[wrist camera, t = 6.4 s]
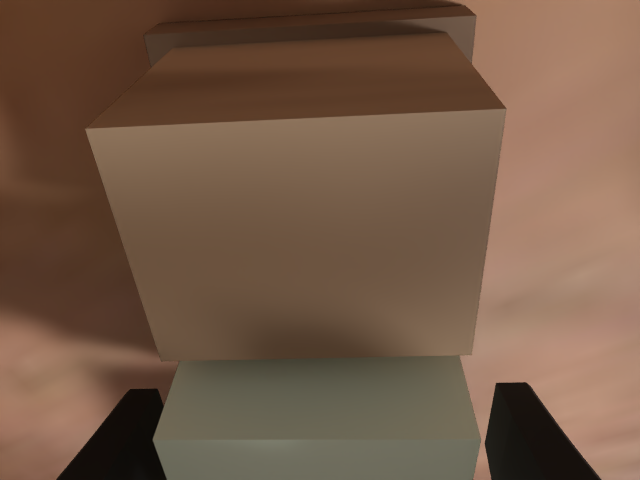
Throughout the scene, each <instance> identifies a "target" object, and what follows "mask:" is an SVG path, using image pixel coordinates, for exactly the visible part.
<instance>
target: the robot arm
mask: <svg viewBox="0 0 640 480" xmlns="http://www.w3.org/2000/svg"><path fill="white" fill-rule="evenodd" d="M163 408H164V406H163V403H162V400H161V397H160V394H159V391H158V389H130V390H129V391H128V392H127V393H126V394H125V395H124V397H123V398H122V399H121V400H120V402H119V403H118V404H117V405H116V407H115V408H114V409H113V411H112V412H111V413H110V414H109V416H108V417H107V418H106V419H105V421H104V422H103V423H102V424H101V426H100V427H99V428H98V429H97V431H96V432H95V433H94V434H93V436H92V437H91V438H90V439H89V441H88V442H87V443H86V444H85V446H84V447H83V448H82V449H81V451H80V452H79V453H78V454H77V455H76V456H75V458H74V459H73V460H72V461H71V462H70V464H69V465H68V466H67V467H66V468H65V470H64V471H63V472H62V473H61V474H60V476H59V477H58V478H57V479H56V480H167V478H166V476H165V473H164V470H163V467H162V465H161V462H160V459H159V456H158V453H157V451H156V448H155V445H154V442H153V437H154V434H155V432H156V429H157V426H158V423H159V420H160V417H161V414H162V411H163ZM485 447H486V453H487V458H488V463H489V469H490V474H491V479H492V480H601V479H600V477H599V476H598V475H597V474H596V472H595V471H594V470H593V469H592V468H591V466H590V465H589V464H588V463H587V461H586V460H585V459H584V458H583V456H582V455H581V454H580V453H579V451H578V450H577V449H576V448H575V446H574V445H573V444H572V442H571V441H570V440H569V438H568V437H567V436H566V434H565V433H564V432H563V431H562V429H561V428H560V427H559V425H558V424H557V423H556V421H555V420H554V418H553V417H552V416H551V414H550V413H549V412H548V410H547V409H546V408H545V406H544V405H543V403H542V402H541V401H540V399H539V398H538V396H537V395H536V393H535V392H534V391H533V389H532V388H531V386H530V385H528V384H527V383H526V382H522V383H496V387H495V392H494V397H493V403H492V408H491V413H490V419H489V424H488V430H487V435H486V440H485Z"/></svg>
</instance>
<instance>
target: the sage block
mask: <svg viewBox="0 0 640 480" xmlns="http://www.w3.org/2000/svg"><path fill="white" fill-rule="evenodd" d="M153 442H154V445H155V448H156V451H157V453H158V456H159V459H160V462H161V465H162V467H163V470H164V473H165V476H166V478H167V480H473V477H474V472H475V467H476V462H477V457H478V452H479V448H480V443H481V437H480V433H479V429H478V425H477V422H476V418H475V414H474V410H473V406H472V402H471V399H470V395H469V391H468V387H467V383H466V379H465V376H464V372H463V368H462V364H461V360H460V356H459V355H455V356H405V357H355V358H306V359H256V360H206V361H179V364H178V367H177V370H176V373H175V376H174V379H173V382H172V385H171V388H170V391H169V394H168V396H167V399H166V402H165V405H164V408H163V411H162V414H161V417H160V420H159V423H158V426H157V429H156V432H155V434H154V437H153Z"/></svg>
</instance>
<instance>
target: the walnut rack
mask: <svg viewBox="0 0 640 480" xmlns="http://www.w3.org/2000/svg"><path fill="white" fill-rule="evenodd" d="M475 25H476V15H475V14H474V13H473V12H472V11H471V10H470V9H468V8H467V7H466V6H465V5H464V6H447V7H431V8H414V9H397V10H380V11H363V12H346V13H330V14H313V15H296V16H279V17H262V18H245V19H229V20H212V21H195V22H178V23H161V24H158V25H156V26H155V27H154V28H152V29H151V30H150V31H148V32H147V33H145V34H144V35H143V36H144V40H145V44H146V48H147V53H148V57H149V61H150V65H151V68H150V69H149V70H148V71H147V72H146V73H145V74H144V75H143V76H142V77H141V78H140V79H138V80H137V81H136V82H135V83H134V84H133V85H132V86H131V87H130V88H129V89H128V90H127V91H125V92H124V93H123V94H122V95H121V96H120V97H119V98H118V99H117V100H116V101H115V102H114V103H112V104H111V105H110V106H109V107H108V108H107V109H106V110H105V111H104V112H103V113H102V114H101V115H99V116H98V117H97V118H96V119H95V120H94V121H93V122H92V123H91V124H90V125H89V126H88V127H86V128H85V130H86V133H87V136H88V139H89V143H90V146H91V149H92V152H93V155H94V158H95V161H96V164H97V167H98V170H99V173H100V176H101V179H102V182H103V185H104V188H105V192H106V195H107V198H108V201H109V204H110V207H111V210H112V213H113V216H114V219H115V222H116V225H117V228H118V231H119V234H120V237H121V240H122V244H123V247H124V250H125V253H126V256H127V259H128V262H129V265H130V268H131V271H132V274H133V277H134V280H135V283H136V286H137V289H138V293H139V296H140V299H141V302H142V305H143V308H144V311H145V314H146V317H147V320H148V323H149V326H150V329H151V332H152V335H153V338H154V342H155V345H156V348H157V351H158V354H159V357H160V360H161V361H206V360H256V359H306V358H355V357H405V356H455V355H472V349H473V342H474V335H475V328H476V321H477V313H478V306H479V299H480V292H481V285H482V278H483V271H484V264H485V257H486V250H487V243H488V236H489V229H490V222H491V215H492V208H493V200H494V193H495V186H496V179H497V172H498V165H499V158H500V151H501V144H502V137H503V130H504V123H505V116H506V107H505V106H504V105H503V104H502V102H501V101H500V100H499V99H498V97H497V96H496V95H495V93H494V92H493V91H492V90H491V88H490V87H489V86H488V84H487V83H486V82H485V81H484V79H483V78H482V77H481V75H480V74H479V73H478V72H477V70H476V69H475V68H474V67H473V65H472V55H473V45H474V35H475Z"/></svg>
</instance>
